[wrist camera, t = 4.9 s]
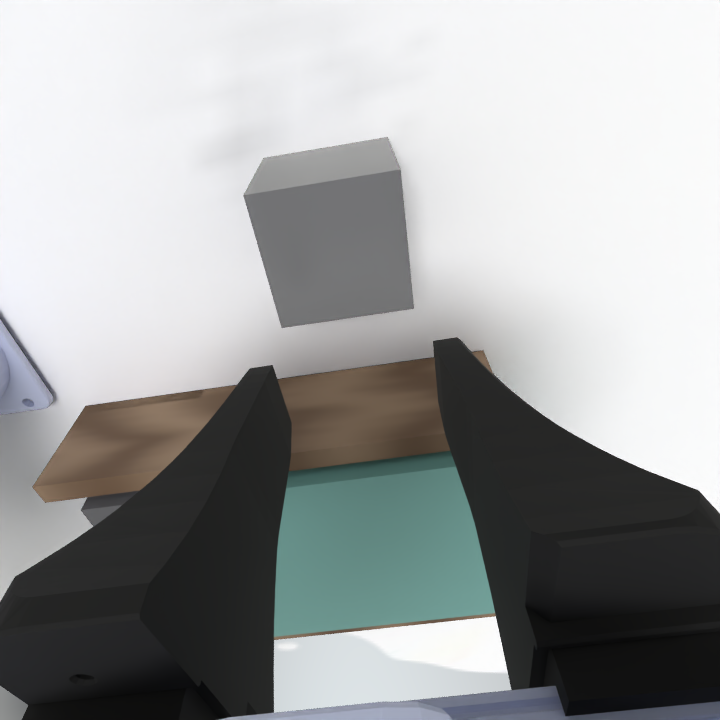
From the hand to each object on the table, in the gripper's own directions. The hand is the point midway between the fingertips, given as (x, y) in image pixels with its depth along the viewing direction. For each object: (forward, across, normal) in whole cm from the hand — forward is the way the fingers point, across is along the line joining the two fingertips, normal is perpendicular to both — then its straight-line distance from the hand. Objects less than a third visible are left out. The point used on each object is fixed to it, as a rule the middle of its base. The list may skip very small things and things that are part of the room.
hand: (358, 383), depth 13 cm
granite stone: (+9, 0, -2) cm, 9 cm away
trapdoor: (+6, +4, +13) cm, 15 cm away
